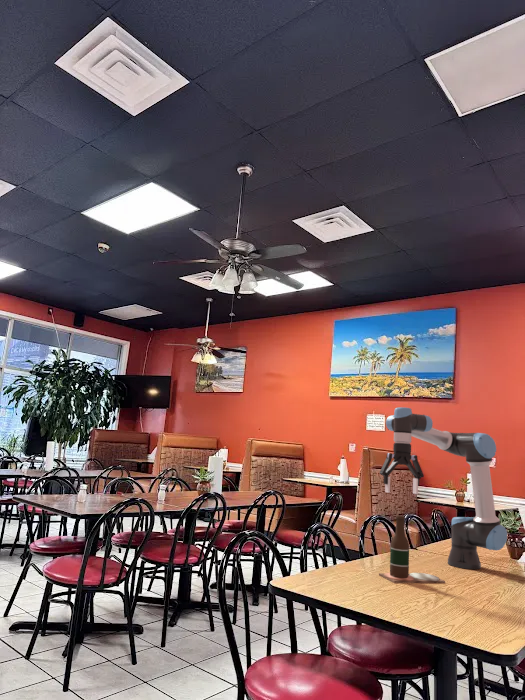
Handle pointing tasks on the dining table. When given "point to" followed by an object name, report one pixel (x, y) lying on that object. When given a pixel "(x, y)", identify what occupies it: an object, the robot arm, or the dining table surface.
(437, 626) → the dining table surface
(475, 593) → the dining table surface
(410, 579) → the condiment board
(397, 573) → the beer bottle
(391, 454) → the robot arm
